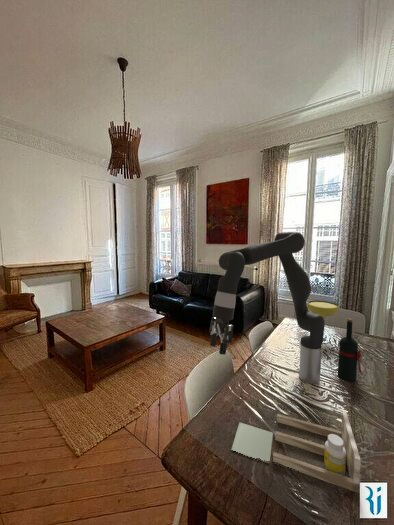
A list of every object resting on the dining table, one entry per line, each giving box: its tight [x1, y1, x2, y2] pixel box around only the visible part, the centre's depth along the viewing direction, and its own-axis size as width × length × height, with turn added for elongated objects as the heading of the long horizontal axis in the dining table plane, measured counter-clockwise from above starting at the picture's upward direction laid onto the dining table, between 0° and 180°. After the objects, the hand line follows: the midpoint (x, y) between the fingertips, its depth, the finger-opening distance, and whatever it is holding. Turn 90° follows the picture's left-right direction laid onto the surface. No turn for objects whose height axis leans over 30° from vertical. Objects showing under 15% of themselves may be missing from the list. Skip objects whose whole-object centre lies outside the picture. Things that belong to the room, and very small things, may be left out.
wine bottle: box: [337, 317, 363, 383], centre depth 109 cm, size 8×10×30 cm
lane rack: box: [273, 410, 362, 494], centre depth 73 cm, size 18×22×10 cm
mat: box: [230, 421, 274, 462], centre depth 77 cm, size 12×12×1 cm
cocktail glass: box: [307, 300, 339, 341], centre depth 151 cm, size 18×18×25 cm
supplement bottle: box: [323, 434, 347, 476], centre depth 67 cm, size 5×5×10 cm
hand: (217, 349), depth 81 cm, fingers open, 8 cm apart
